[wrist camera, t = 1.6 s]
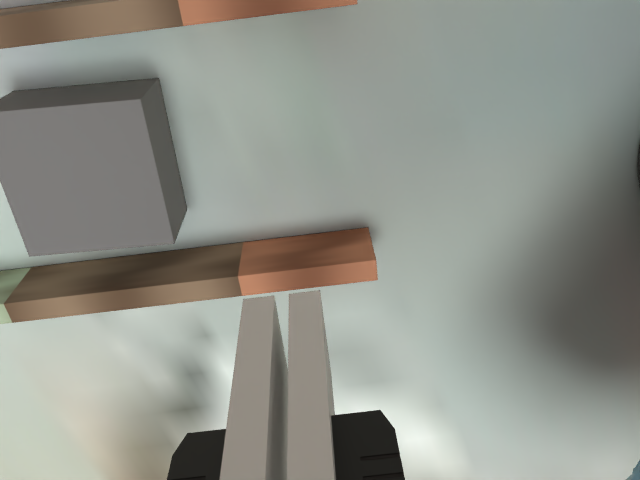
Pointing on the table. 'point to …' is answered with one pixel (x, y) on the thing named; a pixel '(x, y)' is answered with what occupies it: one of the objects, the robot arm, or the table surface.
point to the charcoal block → (90, 167)
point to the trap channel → (178, 265)
